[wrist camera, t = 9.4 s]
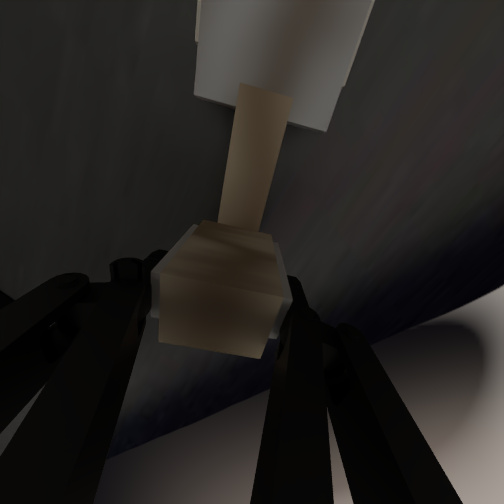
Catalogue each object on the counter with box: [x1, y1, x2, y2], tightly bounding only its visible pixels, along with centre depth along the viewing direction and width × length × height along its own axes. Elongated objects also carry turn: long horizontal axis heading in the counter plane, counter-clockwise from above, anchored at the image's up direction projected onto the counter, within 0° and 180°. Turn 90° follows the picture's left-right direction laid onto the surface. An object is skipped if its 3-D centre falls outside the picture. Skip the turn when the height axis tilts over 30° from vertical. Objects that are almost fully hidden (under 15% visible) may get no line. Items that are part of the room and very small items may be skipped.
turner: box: [159, 0, 372, 359], centre depth 11 cm, size 8×23×8 cm, turn 167°
